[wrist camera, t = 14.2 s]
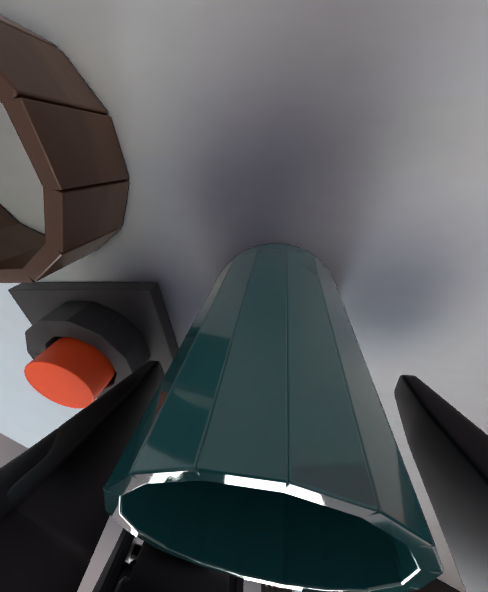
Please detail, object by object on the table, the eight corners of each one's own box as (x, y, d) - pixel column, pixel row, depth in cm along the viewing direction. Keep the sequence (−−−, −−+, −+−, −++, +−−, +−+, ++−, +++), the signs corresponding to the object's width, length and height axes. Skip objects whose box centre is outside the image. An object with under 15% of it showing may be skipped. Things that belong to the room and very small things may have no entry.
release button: (100, 337, 13) (73, 364, 12) (124, 382, 16) (104, 411, 14) (42, 334, 14) (9, 359, 12) (73, 378, 16) (47, 405, 14)
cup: (329, 346, 15) (390, 611, 6) (224, 342, 16) (154, 559, 7) (344, 241, 11) (528, 515, 3) (208, 245, 12) (39, 446, 4)
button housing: (157, 281, 14) (129, 309, 11) (187, 377, 18) (171, 412, 16) (21, 282, 16) (-29, 307, 13) (78, 369, 20) (48, 400, 18)
